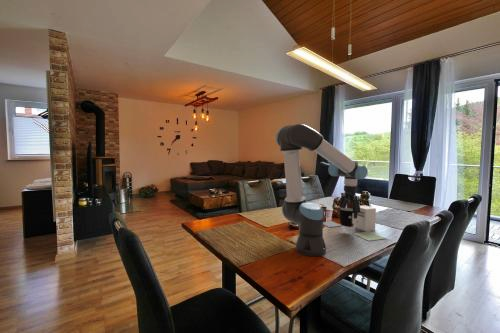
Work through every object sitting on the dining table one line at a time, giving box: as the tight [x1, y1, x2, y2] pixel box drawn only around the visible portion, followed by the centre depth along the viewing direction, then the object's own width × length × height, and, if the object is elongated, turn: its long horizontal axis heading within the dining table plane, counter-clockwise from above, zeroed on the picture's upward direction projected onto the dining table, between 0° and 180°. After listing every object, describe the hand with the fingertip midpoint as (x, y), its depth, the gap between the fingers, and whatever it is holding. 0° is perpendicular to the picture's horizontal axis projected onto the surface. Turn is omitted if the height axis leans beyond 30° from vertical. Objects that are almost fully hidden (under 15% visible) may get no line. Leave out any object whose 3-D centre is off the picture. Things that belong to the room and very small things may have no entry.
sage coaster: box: [353, 231, 386, 242], centre depth 140 cm, size 12×12×1 cm
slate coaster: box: [323, 220, 342, 228], centre depth 163 cm, size 10×10×1 cm
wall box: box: [354, 205, 377, 232], centre depth 155 cm, size 9×9×14 cm
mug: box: [339, 207, 354, 228], centre depth 147 cm, size 12×9×10 cm
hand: (348, 221), depth 147 cm, fingers closed on mug, 9 cm apart
